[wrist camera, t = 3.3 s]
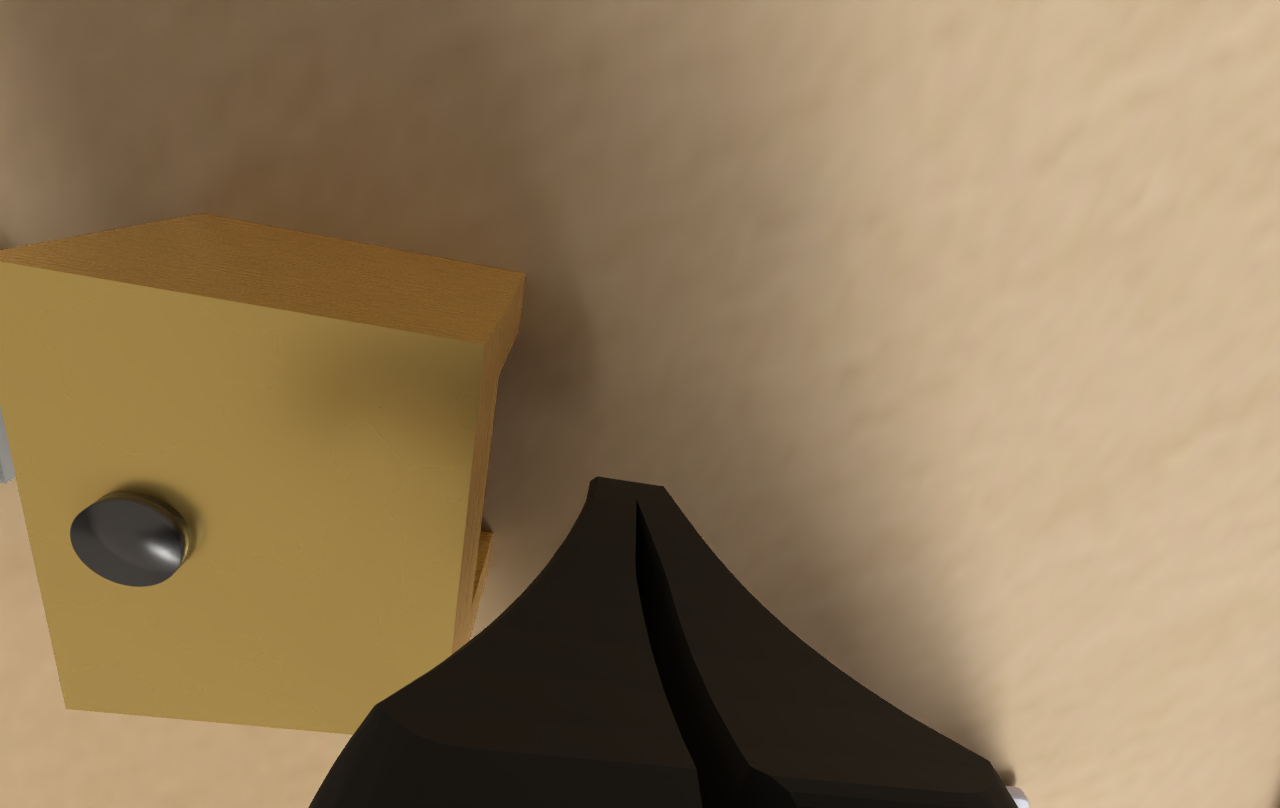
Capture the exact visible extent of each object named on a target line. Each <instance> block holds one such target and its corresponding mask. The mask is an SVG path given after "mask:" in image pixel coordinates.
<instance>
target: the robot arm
mask: <svg viewBox="0 0 1280 808" xmlns="http://www.w3.org/2000/svg"><path fill="white" fill-rule="evenodd" d="M1029 805H1030V804H1029V800H1028V799H1027V797H1026V796H1025V794H1024V792H1023V791H1022V790H1021V789H1020V788H1017V787H1013V786H1005V785H1004V783H1003V782H1002V780H1001V779H1000V777H999V775H998V774H997V772H996V771H995V769H994V768H993V766H992V765H991V763H990V762H989V761H988V760H986V759H984V758H983V757H981V756H979V755H977V754H976V753H974V752H972V751H970V750H968V749H967V748H965V747H963V746H961V745H960V744H958V743H956V742H954V741H952V740H951V739H949V738H947V737H945V736H944V735H942V734H940V733H938V732H936V731H935V730H933V729H931V728H929V727H928V726H926V725H924V724H922V723H921V722H919V721H917V720H915V719H913V718H912V717H910V716H909V715H907V714H905V713H904V712H902V711H901V710H899V709H897V708H896V707H894V706H893V705H891V704H890V703H888V702H887V701H885V700H884V699H882V698H881V697H879V696H877V695H876V694H874V693H873V692H871V691H870V690H868V689H867V688H865V687H864V686H862V685H861V684H859V683H858V682H857V681H855V680H854V679H852V678H851V677H849V676H848V675H847V674H845V673H844V672H842V671H841V670H840V669H838V668H837V667H836V666H834V665H833V664H832V663H830V662H829V661H828V660H827V659H825V658H824V657H823V656H821V655H820V654H819V653H817V652H816V651H815V650H814V649H812V648H811V647H810V646H808V645H807V644H806V643H805V642H803V641H802V640H801V639H800V638H799V637H797V636H796V635H795V634H794V633H793V632H791V631H790V630H789V629H788V628H787V627H786V626H785V625H783V624H782V623H781V622H780V621H779V620H778V619H777V618H776V617H775V616H774V615H773V614H771V613H770V612H769V611H768V610H767V609H766V608H765V607H764V606H763V605H762V604H761V603H759V602H758V601H757V600H756V599H755V598H754V597H753V596H752V595H751V594H750V593H749V592H748V591H747V589H746V588H745V587H744V586H743V585H742V584H741V583H740V582H739V581H738V580H737V579H736V578H735V576H734V575H733V574H732V573H731V572H730V571H729V570H728V569H727V568H726V567H725V565H724V564H723V563H722V562H721V561H720V560H719V558H718V557H717V556H716V555H715V554H714V553H713V551H712V550H711V549H710V548H709V546H708V545H707V544H706V543H705V541H704V540H703V539H702V538H701V536H700V535H699V534H698V532H697V531H696V530H695V529H694V527H693V526H692V525H691V523H690V522H689V521H688V519H687V518H686V517H685V515H684V514H683V512H682V511H681V510H680V508H679V507H678V506H677V504H676V503H675V501H674V500H673V499H672V497H671V496H670V494H669V493H668V492H667V490H666V489H665V488H664V487H663V486H656V485H650V484H643V483H636V482H630V481H623V480H616V479H610V478H603V477H596V478H595V479H593V480H591V481H590V485H589V490H588V495H587V500H586V502H585V505H584V507H583V509H582V511H581V513H580V515H579V517H578V519H577V520H576V522H575V524H574V526H573V527H572V529H571V531H570V533H569V534H568V536H567V537H566V539H565V540H564V542H563V543H562V545H561V546H560V547H559V549H558V550H557V552H556V553H555V554H554V556H553V557H552V559H551V560H550V562H549V563H548V564H547V565H546V567H545V568H544V569H543V570H542V572H541V573H540V574H539V575H538V576H537V578H536V579H535V580H534V581H533V582H532V583H531V584H530V585H529V587H528V588H527V589H526V590H525V591H524V592H523V593H522V594H521V595H520V596H519V597H518V598H517V599H516V600H515V601H514V602H513V603H512V604H511V605H510V606H509V607H508V608H507V609H506V610H505V611H504V612H503V613H502V614H501V615H500V616H499V617H498V618H497V619H495V620H494V621H493V622H492V623H491V624H490V625H489V626H488V627H486V628H485V629H484V630H483V631H482V632H480V633H479V634H478V635H477V636H475V637H474V638H473V639H471V640H470V641H469V642H468V643H466V644H465V645H464V646H462V647H461V648H460V649H459V650H457V651H456V652H455V653H453V654H452V655H451V656H450V657H448V658H447V659H446V660H444V661H443V662H442V663H440V664H439V665H437V666H436V667H434V668H433V669H432V670H430V671H428V672H427V673H425V674H424V675H422V676H420V677H419V678H417V679H416V680H414V681H413V682H411V683H409V684H408V685H406V686H405V687H403V688H401V689H400V690H398V691H397V692H395V693H394V694H392V695H390V696H389V697H387V698H386V699H384V700H382V701H381V702H379V703H377V704H375V706H374V707H373V708H372V710H371V711H370V712H369V714H368V715H367V716H366V718H365V719H364V721H363V722H362V723H361V725H360V726H359V727H358V729H357V730H356V732H355V733H354V734H353V736H352V737H351V739H350V740H349V742H348V743H347V745H346V746H345V748H344V749H343V751H342V752H341V754H340V755H339V757H338V758H337V760H336V761H335V763H334V764H333V766H332V768H331V769H330V771H329V773H328V774H327V776H326V778H325V780H324V781H323V783H322V785H321V786H320V788H319V790H318V792H317V793H316V795H315V797H314V799H313V801H312V802H311V804H310V806H309V808H1029Z"/></svg>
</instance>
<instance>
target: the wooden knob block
mask: <svg viewBox="0 0 1280 808" xmlns="http://www.w3.org/2000/svg"><path fill="white" fill-rule="evenodd" d="M525 280H526V274H525V273H519V272H514V271H509V270H503V269H498V268H492V267H487V266H482V265H476V264H471V263H466V262H460V261H455V260H450V259H444V258H439V257H434V256H428V255H423V254H417V253H412V252H407V251H401V250H396V249H391V248H385V247H380V246H375V245H369V244H364V243H359V242H353V241H348V240H342V239H337V238H332V237H326V236H321V235H316V234H310V233H305V232H300V231H294V230H289V229H284V228H278V227H273V226H267V225H262V224H257V223H251V222H246V221H241V220H235V219H230V218H225V217H219V216H214V215H209V214H203V213H201V214H195V215H190V216H185V217H179V218H174V219H168V220H163V221H157V222H152V223H146V224H141V225H135V226H130V227H124V228H119V229H113V230H108V231H102V232H97V233H91V234H86V235H81V236H75V237H70V238H64V239H59V240H53V241H48V242H42V243H37V244H31V245H26V246H20V247H15V248H9V249H4V250H0V406H1V411H2V415H3V420H4V425H5V429H6V434H7V438H8V443H9V448H10V452H11V457H12V461H13V466H14V471H15V475H16V480H17V485H18V489H19V494H20V498H21V503H22V508H23V512H24V517H25V522H26V526H27V531H28V535H29V540H30V545H31V549H32V554H33V559H34V563H35V568H36V572H37V577H38V582H39V586H40V591H41V595H42V600H43V605H44V609H45V614H46V619H47V623H48V628H49V632H50V637H51V642H52V646H53V651H54V656H55V660H56V665H57V669H58V674H59V679H60V683H61V688H62V693H63V697H64V702H65V706H66V709H73V710H84V711H95V712H106V713H118V714H129V715H140V716H151V717H162V718H173V719H184V720H196V721H207V722H218V723H229V724H240V725H251V726H262V727H273V728H285V729H296V730H307V731H318V732H329V733H340V734H351V735H353V734H354V733H355V732H356V730H357V729H358V727H359V726H360V725H361V723H362V722H363V721H364V719H365V718H366V716H367V715H368V714H369V712H370V711H371V710H372V708H373V707H374V706H375V704H377V703H379V702H381V701H382V700H384V699H386V698H387V697H389V696H390V695H392V694H394V693H395V692H397V691H398V690H400V689H401V688H403V687H405V686H406V685H408V684H409V683H411V682H413V681H414V680H416V679H417V678H419V677H420V676H422V675H424V674H425V673H427V672H428V671H430V670H432V669H433V668H434V667H436V666H437V665H439V664H440V663H442V662H443V661H444V660H446V659H447V658H448V657H450V656H451V655H452V654H453V653H455V652H456V651H457V650H459V649H460V648H461V647H462V646H464V645H465V644H466V643H468V642H469V640H470V637H471V633H472V629H473V626H474V622H475V618H476V614H477V611H478V607H479V603H480V600H481V596H482V592H483V589H484V585H485V581H486V577H487V574H488V566H489V559H490V551H491V543H492V535H493V533H492V532H484V531H481V522H482V514H483V505H484V497H485V489H486V480H487V472H488V464H489V455H490V447H491V439H492V430H493V422H494V414H495V405H496V397H497V388H498V380H499V375H500V372H501V370H502V368H503V366H504V363H505V361H506V359H507V357H508V354H509V352H510V350H511V348H512V345H513V343H514V341H515V339H516V337H517V334H518V332H519V326H520V318H521V311H522V303H523V295H524V287H525Z"/></svg>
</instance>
